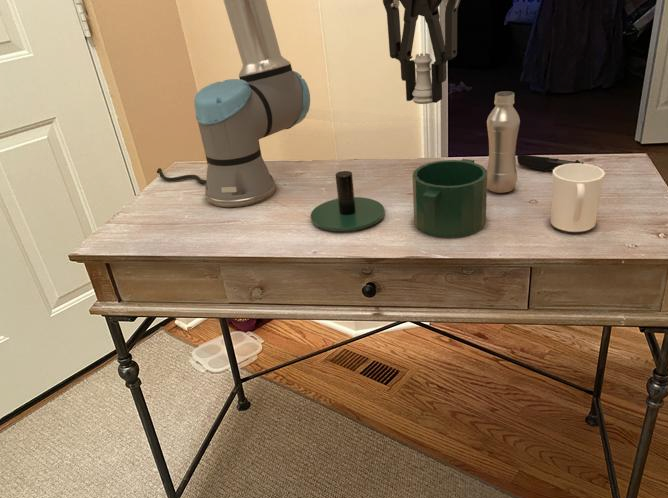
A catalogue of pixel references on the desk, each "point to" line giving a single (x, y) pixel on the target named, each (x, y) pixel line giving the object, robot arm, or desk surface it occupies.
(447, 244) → the desk surface
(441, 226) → the pot
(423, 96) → the rook chess piece
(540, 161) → the electric trimmer
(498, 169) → the silver metal bottle
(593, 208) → the mug
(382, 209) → the lid
